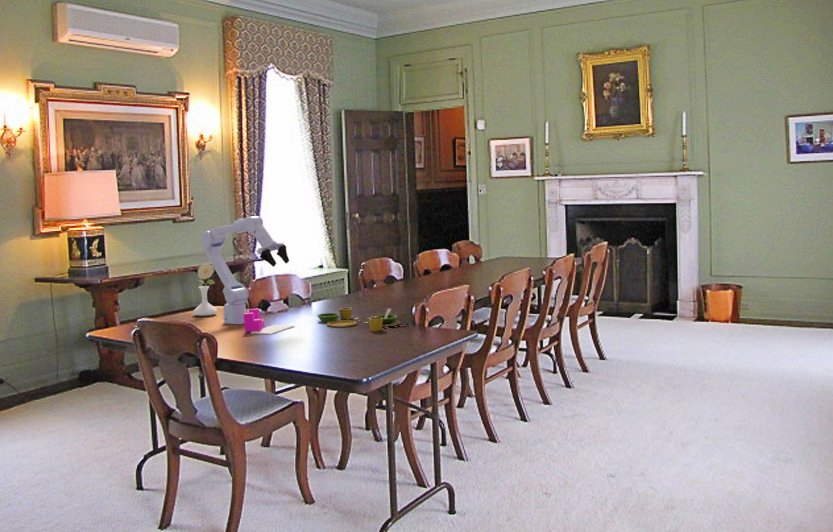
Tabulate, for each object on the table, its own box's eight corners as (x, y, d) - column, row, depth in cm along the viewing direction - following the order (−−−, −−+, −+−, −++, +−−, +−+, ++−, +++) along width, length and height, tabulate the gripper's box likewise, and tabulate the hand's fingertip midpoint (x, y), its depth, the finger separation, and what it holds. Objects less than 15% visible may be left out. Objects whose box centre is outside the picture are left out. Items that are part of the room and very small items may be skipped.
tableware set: (412, 328, 344) (412, 313, 344) (355, 336, 329) (354, 320, 329) (365, 315, 379) (364, 302, 378) (311, 322, 364) (310, 308, 363)
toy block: (260, 330, 340) (258, 313, 339) (245, 331, 340) (243, 314, 339) (266, 325, 355) (264, 308, 354) (251, 326, 355) (250, 309, 354)
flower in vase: (187, 316, 386) (185, 264, 383) (206, 312, 395) (203, 261, 392) (206, 318, 378) (204, 265, 376) (225, 314, 388) (222, 262, 385)
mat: (250, 333, 338) (250, 332, 338) (274, 325, 355) (274, 324, 355) (271, 334, 334) (271, 333, 334) (294, 326, 351) (294, 325, 351)
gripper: (256, 236, 343) (273, 260, 340) (280, 230, 354) (297, 254, 351) (248, 246, 347) (265, 271, 344) (273, 240, 358) (290, 264, 355)
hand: (281, 263), depth 348 cm, fingers open, 7 cm apart
